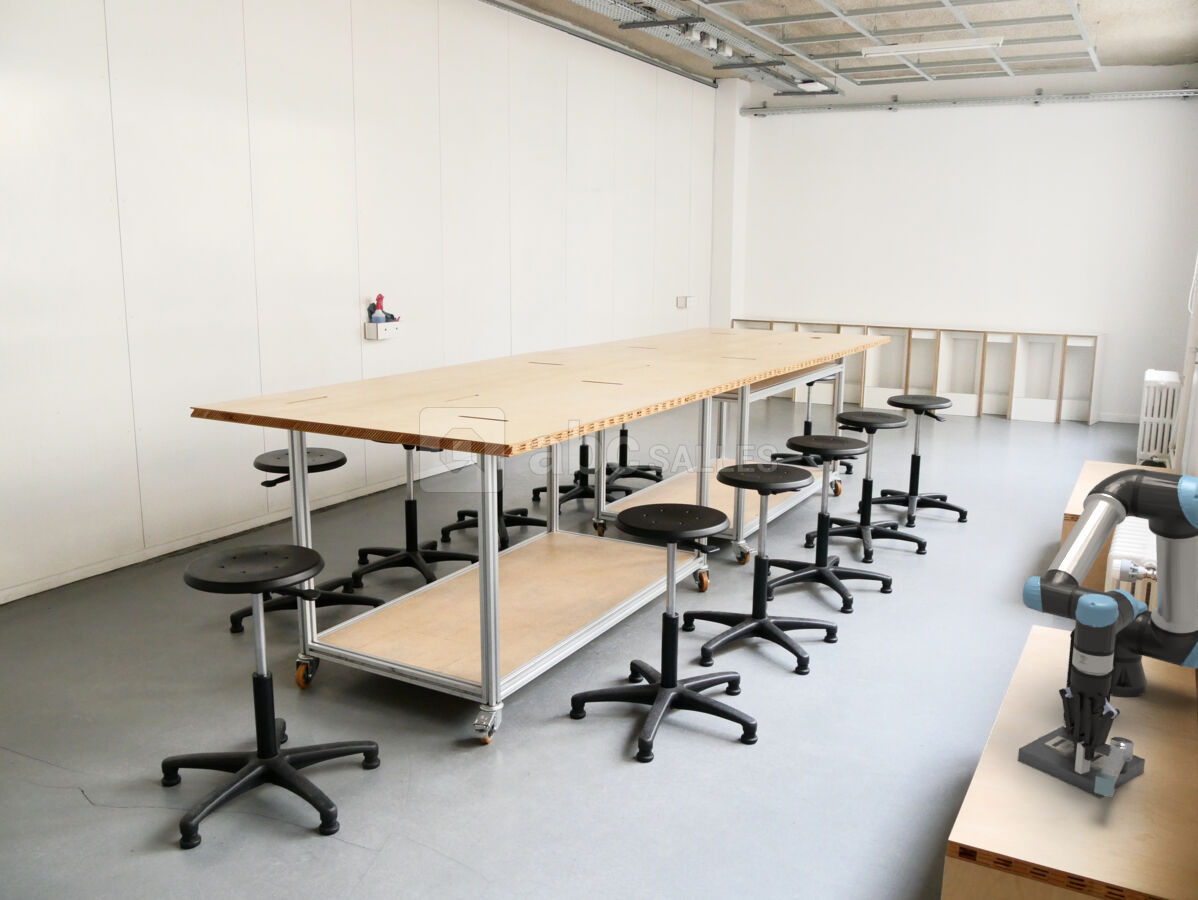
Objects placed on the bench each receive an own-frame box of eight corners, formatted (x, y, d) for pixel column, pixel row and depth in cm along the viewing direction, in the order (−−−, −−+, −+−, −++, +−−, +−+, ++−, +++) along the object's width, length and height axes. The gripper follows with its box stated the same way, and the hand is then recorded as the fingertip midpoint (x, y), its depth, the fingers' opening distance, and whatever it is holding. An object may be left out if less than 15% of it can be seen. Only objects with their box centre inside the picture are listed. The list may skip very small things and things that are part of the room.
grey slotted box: (1061, 737, 227) (1063, 714, 226) (1145, 772, 211) (1148, 747, 210) (1017, 760, 217) (1019, 736, 216) (1102, 799, 201) (1105, 773, 200)
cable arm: (1090, 791, 193) (1092, 775, 193) (1111, 749, 209) (1112, 734, 209) (1115, 798, 191) (1116, 782, 190) (1134, 755, 207) (1135, 740, 206)
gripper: (1052, 660, 203) (1044, 760, 208) (1107, 684, 192) (1097, 790, 197) (1076, 653, 207) (1068, 752, 211) (1132, 676, 195) (1121, 781, 200)
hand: (1082, 770), depth 204 cm, fingers closed
